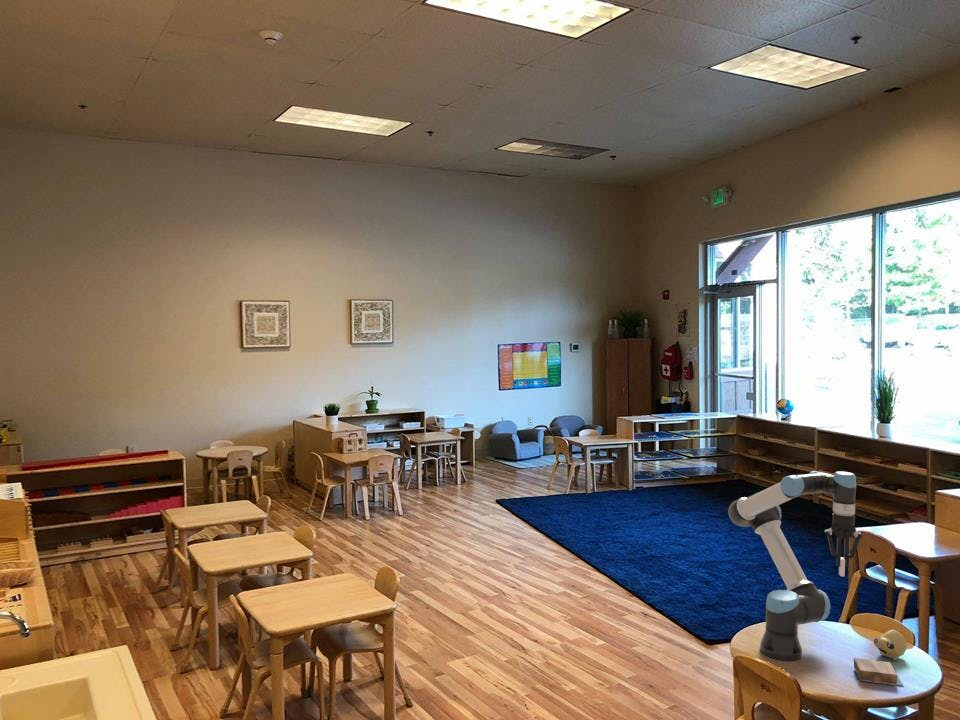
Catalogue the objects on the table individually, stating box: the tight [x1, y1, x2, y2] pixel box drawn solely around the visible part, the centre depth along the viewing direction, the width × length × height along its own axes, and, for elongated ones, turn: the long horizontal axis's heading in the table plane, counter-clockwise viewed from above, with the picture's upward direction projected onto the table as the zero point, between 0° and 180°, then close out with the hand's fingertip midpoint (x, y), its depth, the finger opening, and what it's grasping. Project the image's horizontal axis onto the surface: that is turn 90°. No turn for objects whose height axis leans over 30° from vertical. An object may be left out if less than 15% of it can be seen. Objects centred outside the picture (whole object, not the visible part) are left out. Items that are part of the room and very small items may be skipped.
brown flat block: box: [853, 657, 898, 686], centre depth 266 cm, size 4×10×12 cm
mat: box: [864, 674, 904, 687], centre depth 267 cm, size 13×11×1 cm
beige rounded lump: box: [873, 629, 907, 661], centre depth 282 cm, size 10×12×11 cm
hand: (841, 575), depth 275 cm, fingers closed
